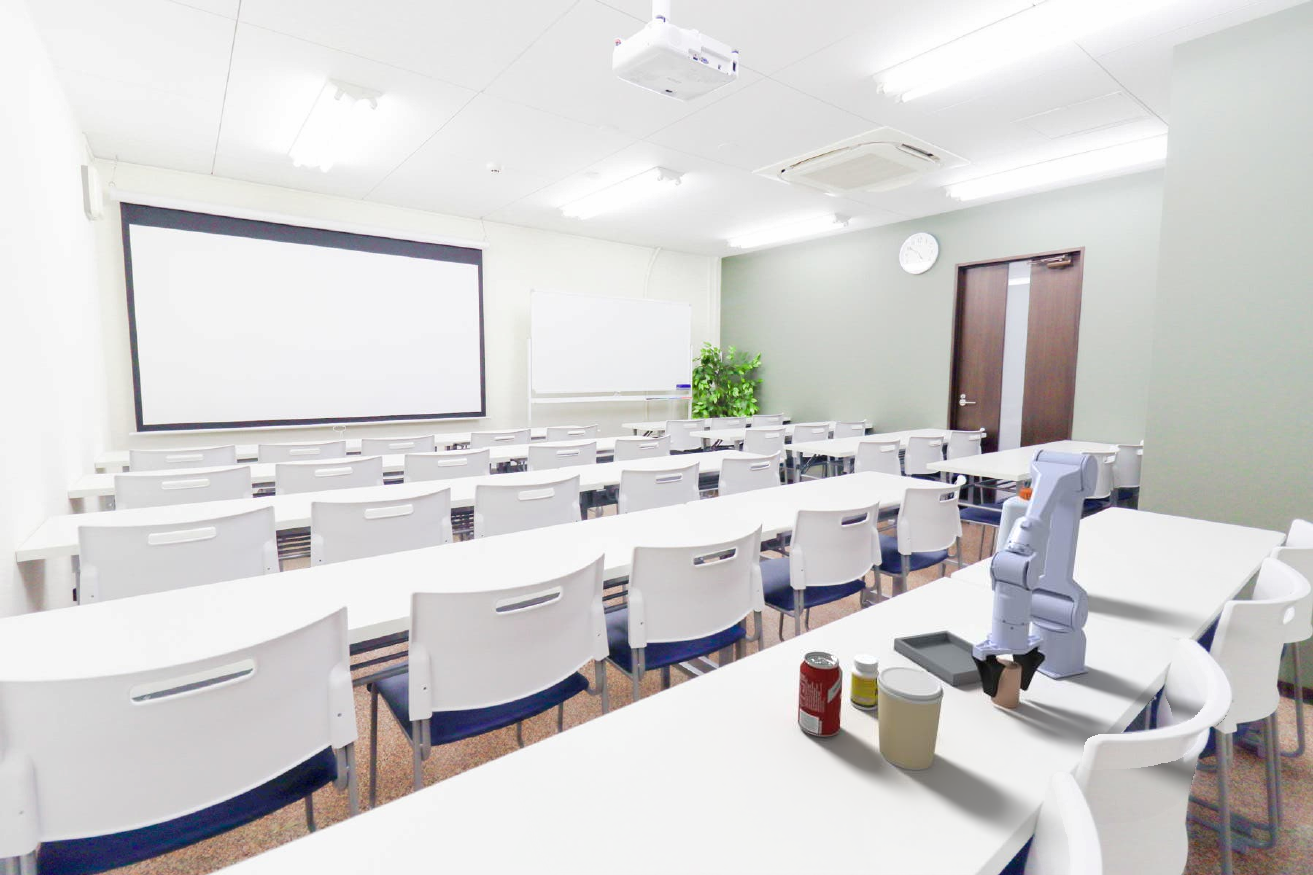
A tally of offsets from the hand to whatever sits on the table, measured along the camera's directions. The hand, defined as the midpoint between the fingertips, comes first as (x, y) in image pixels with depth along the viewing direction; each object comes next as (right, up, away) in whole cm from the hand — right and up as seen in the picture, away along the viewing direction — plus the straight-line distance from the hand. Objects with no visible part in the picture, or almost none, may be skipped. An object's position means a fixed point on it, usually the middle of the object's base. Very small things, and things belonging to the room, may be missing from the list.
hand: (1005, 691), depth 108 cm
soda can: (-36, -3, -9) cm, 37 cm away
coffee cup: (-24, -4, -15) cm, 29 cm away
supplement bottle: (-26, -2, -1) cm, 26 cm away
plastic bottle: (+39, +3, +57) cm, 69 cm away
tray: (-3, 0, +15) cm, 15 cm away
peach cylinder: (0, -2, 0) cm, 2 cm away
